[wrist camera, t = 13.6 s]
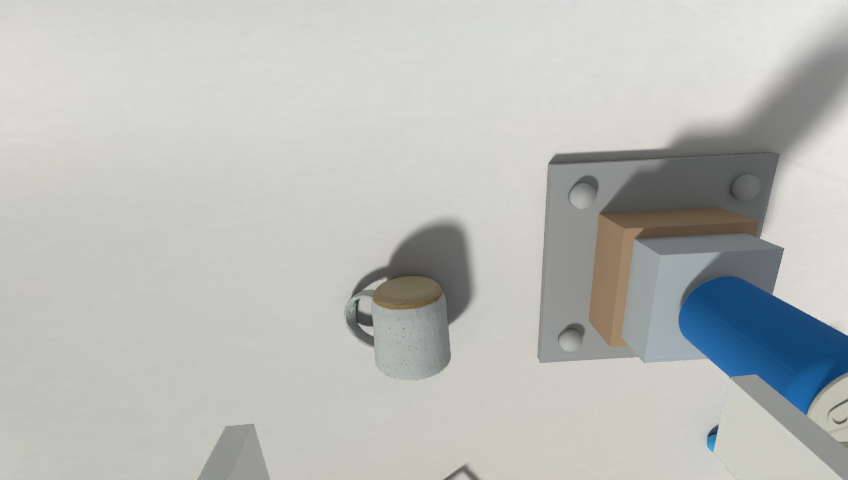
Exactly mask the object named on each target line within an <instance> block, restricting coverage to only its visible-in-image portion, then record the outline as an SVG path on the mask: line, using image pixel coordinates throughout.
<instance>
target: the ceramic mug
mask: <svg viewBox="0 0 848 480" xmlns="http://www.w3.org/2000/svg"><path fill="white" fill-rule="evenodd" d="M359 298H371V299H372V319H373V328H374V337H373V336H371V335H369V334H367V333H366V332H365V331H363V330H362V329H361V327H360V326H359V325H358V323H357V321H356V306H357V303H356V300H357V299H359ZM344 316H345V323H346V326H347V328H348V330H349V332H350V333H351V334H352V335H353V336H354V337H355V338H356V339H357V340H358V341H360V342H361V343H363V344H365V345H367V346H369V347H372V348H375V361H376V365H377V367H378V369H379V370H380V371H381V372H382V373H383V374H385V375H387V376H389V377H392V378H395V379H399V380H420V379H425V378H428V377H431V376H434V375H436V374H438V373H439V372H441V371H442V370H443V369H444V368H445V367H446V366H447V365H448V363H449V361H450V358H451V352H450V342H449V330H448V321H447V306H446V299H445V295H444V291H443V289H442V286H441V285H440V284H439V283H437V282H436V281H434V280H433V279H430V278H427V277H423V276H404V277H399V278H394V279H391V280H388V281H386V282H384V283H382V284H381V285H380V286H378V288H377V289H376V290H365V291H361V292H359V293H357V294H355V295H354V296H353V297H352V298H351V299H350V300H349V301H348V303H347V304H346V307H345V312H344Z"/></svg>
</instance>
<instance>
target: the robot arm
mask: <svg viewBox="0 0 848 480" xmlns="http://www.w3.org/2000/svg"><path fill="white" fill-rule="evenodd" d="M713 453H714V454H715V456H716V457H717V458H718V459H719V460H720V461H721V463H722V464H723V465H724V466H725V467H726V469H727V470H728V471H729V472H730V473H731V475H732V476H733V477H734V478H735V479H736V480H848V449H847V448H846V447H844V446H843V445H842V444H841V443H839V442H838V441H837V440H836V439H835V438H833V437H832V436H831V435H830V434H828V433H827V432H826V431H825V430H823V429H822V428H821V427H820V426H819V425H817V424H816V423H815V422H814V421H812V420H811V419H810V418H809V417H808V416H806V415H805V414H804V413H803V412H801V411H800V410H799V409H798V408H797V407H795V406H794V405H793V404H792V403H790V402H789V401H788V400H787V399H786V398H784V397H783V396H782V395H781V394H779V393H778V392H777V391H776V390H775V389H773V388H772V387H771V386H770V385H768V384H767V383H766V382H765V381H764V380H762V379H761V378H760V377H759V376H757V375H756V374H755V375H745V376H735V377H729V378H728V383H727V388H726V392H725V397H724V402H723V407H722V412H721V417H720V422H719V427H718V432H717V437H716V442H715V447H714V451H713ZM197 480H270V478H269V475H268V471H267V468H266V464H265V461H264V458H263V454H262V451H261V447H260V444H259V440H258V437H257V434H256V430H255V427H254V424H247V425H237V426H226V427H225V429H224V431H223V433H222V434H221V436H220V438H219V440H218V442H217V444H216V446H215V447H214V449H213V451H212V453H211V455H210V457H209V459H208V461H207V462H206V464H205V466H204V468H203V470H202V472H201V474H200V476H199V477H198V479H197Z"/></svg>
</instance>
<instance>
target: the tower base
mask: <svg viewBox="0 0 848 480" xmlns="http://www.w3.org/2000/svg"><path fill="white" fill-rule="evenodd" d="M778 158H779V154H777V153H752V154H732V155H712V156H692V157H672V158H651V159H631V160H611V161H591V162H571V163H551V164H548V178H547V196H546V215H545V233H544V251H543V270H542V288H541V306H540V324H539V343H538V359H539V361H540V363H546V362H562V361H578V360H594V359H611V358H627V357H639V358H640V359H641V360H642V361H643V362H644V363H647V362H663V361H679V360H695V359H709V358H707V357H706V356H705V355H704V354H703V353H702V352H700V351H699V350H698V349H697V348H696V347H695V346H693V345H692V344H691V343H690V342H689V341H688V340H687V339H686V338H685V337H684V336H683V335H682V333H681V331H680V329H679V325H678V316H679V311H680V308H681V306H682V304H683V302H684V300H685V299H686V297H687V296H688V295H689V294H690V293H691V292H692V291H693V290H694V289H695V288H696V287H698V286H699V285H700V284H702V283H704V282H706V281H708V280H710V279H713V278H716V277H721V276H733V277H738V278H741V279H743V280H745V281H747V282H749V283H751V284H753V285H755V286H756V287H758V288H760V289H762V290H764V291H766V292H767V293H769V294H771V295H772V294H773V290H774V286H775V282H776V278H777V274H778V271H779V267H780V263H781V259H782V255H783V251H784V248H782V247H779V246H777V245H774V244H772V243H769V242H767V241H764V240H762V239H760V235H761V231H762V227H763V222H764V218H765V214H766V210H767V205H768V201H769V197H770V192H771V188H772V184H773V180H774V175H775V171H776V167H777V163H778Z"/></svg>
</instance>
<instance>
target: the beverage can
mask: <svg viewBox="0 0 848 480" xmlns="http://www.w3.org/2000/svg"><path fill="white" fill-rule="evenodd" d="M678 325H679V329H680V331H681V333H682V335H683V336H684V337H685V338H686V339H687V340H688V341H689V342H690V343H691V344H692V345H693V346H695V347H696V348H697V349H698V350H699V351H700V352H702V353H703V354H704V355H705V356H706V357H707V358H709V359H710V360H711V361H712V362H713V363H714V364H716V365H717V366H718V367H719V368H720V369H721V370H722V371H724V372H725V373H726V374H727V375H728V376H729V377H735V376H745V375H755V374H756V375H757V376H759V377H760V378H761V379H762V380H764V381H765V382H766V383H767V384H768V385H770V386H771V387H772V388H773V389H775V390H776V391H777V392H778V393H779V394H781V395H782V396H783V397H784V398H786V399H787V400H788V401H789V402H790V403H792V404H793V405H794V406H795V407H797V408H798V409H799V410H800V411H801V412H803V413H804V414H805V415H806V416H808V417H809V418H810V419H811V420H812V421H814V422H815V423H816V424H817V425H819V426H820V427H821V428H822V429H823V430H825V431H826V432H827V433H828V434H830V435H831V436H832V437H833V438H835V439H836V440H837V441H838V442H839V443H841V444H842V445H843V446H844V447H846V448H847V449H848V336H847V335H845V334H843V333H842V332H840V331H838V330H836V329H834V328H832V327H830V326H829V325H827V324H825V323H823V322H821V321H819V320H817V319H816V318H814V317H812V316H810V315H808V314H806V313H805V312H803V311H801V310H799V309H797V308H795V307H793V306H792V305H790V304H788V303H786V302H784V301H782V300H780V299H779V298H777V297H775V296H773V295H771V294H769V293H767V292H766V291H764V290H762V289H760V288H758V287H756V286H755V285H753V284H751V283H749V282H747V281H745V280H743V279H741V278H738V277H733V276H721V277H716V278H713V279H710V280H708V281H706V282H704V283H702V284H700V285H699V286H698V287H696V288H695V289H694V290H693V291H692V292H691V293H690V294H689V295H688V296H687V297H686V299H685V300H684V302H683V304H682V306H681V308H680V311H679V316H678Z"/></svg>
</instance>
